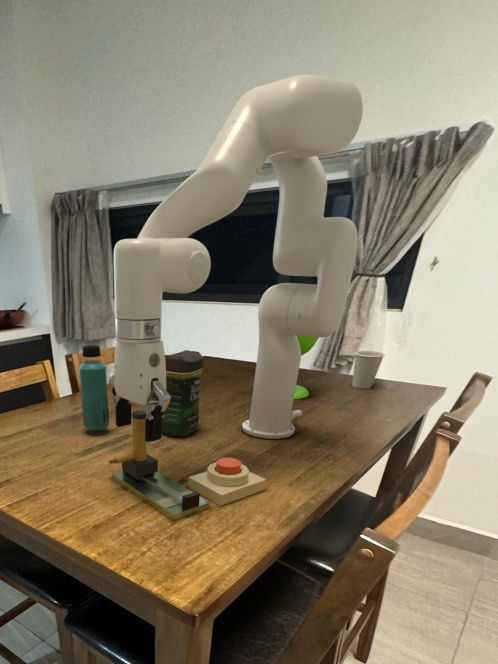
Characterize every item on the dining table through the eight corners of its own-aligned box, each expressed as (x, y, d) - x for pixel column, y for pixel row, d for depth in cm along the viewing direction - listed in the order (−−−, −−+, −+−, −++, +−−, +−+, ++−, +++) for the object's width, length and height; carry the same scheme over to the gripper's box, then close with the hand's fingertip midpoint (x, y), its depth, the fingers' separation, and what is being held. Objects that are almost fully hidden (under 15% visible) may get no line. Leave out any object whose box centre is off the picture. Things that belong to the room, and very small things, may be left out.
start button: (228, 464, 85) (229, 455, 84) (245, 472, 81) (246, 463, 81) (210, 469, 83) (211, 461, 82) (227, 478, 80) (228, 469, 79)
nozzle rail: (145, 469, 92) (145, 453, 90) (209, 508, 78) (211, 489, 76) (111, 479, 88) (111, 462, 86) (173, 521, 74) (173, 502, 72)
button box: (230, 473, 90) (233, 454, 88) (264, 490, 83) (267, 470, 81) (188, 487, 85) (189, 467, 83) (220, 506, 78) (222, 485, 76)
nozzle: (143, 466, 89) (143, 406, 83) (157, 475, 86) (158, 413, 79) (104, 477, 85) (100, 415, 79) (117, 487, 82) (115, 423, 75)
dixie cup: (374, 384, 146) (383, 351, 141) (376, 390, 140) (386, 356, 134) (347, 382, 149) (354, 350, 143) (347, 388, 142) (355, 355, 137)
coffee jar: (184, 440, 106) (188, 357, 96) (156, 434, 110) (157, 353, 99) (203, 428, 112) (209, 349, 102) (176, 423, 116) (179, 346, 106)
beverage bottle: (106, 436, 108) (102, 348, 98) (80, 435, 110) (73, 347, 99) (112, 427, 114) (109, 343, 103) (87, 426, 115) (81, 342, 104)
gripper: (189, 334, 68) (183, 442, 77) (129, 323, 80) (129, 417, 90) (149, 339, 65) (147, 451, 74) (92, 326, 77) (97, 423, 86)
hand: (137, 432), depth 82 cm, fingers open, 9 cm apart
